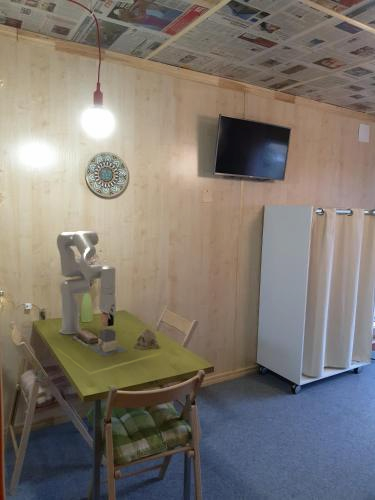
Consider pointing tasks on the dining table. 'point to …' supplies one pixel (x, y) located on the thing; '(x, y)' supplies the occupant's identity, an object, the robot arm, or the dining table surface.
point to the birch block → (107, 345)
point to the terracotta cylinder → (105, 319)
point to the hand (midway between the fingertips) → (107, 323)
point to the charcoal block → (107, 334)
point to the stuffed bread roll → (146, 340)
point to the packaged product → (85, 337)
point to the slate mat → (100, 352)
